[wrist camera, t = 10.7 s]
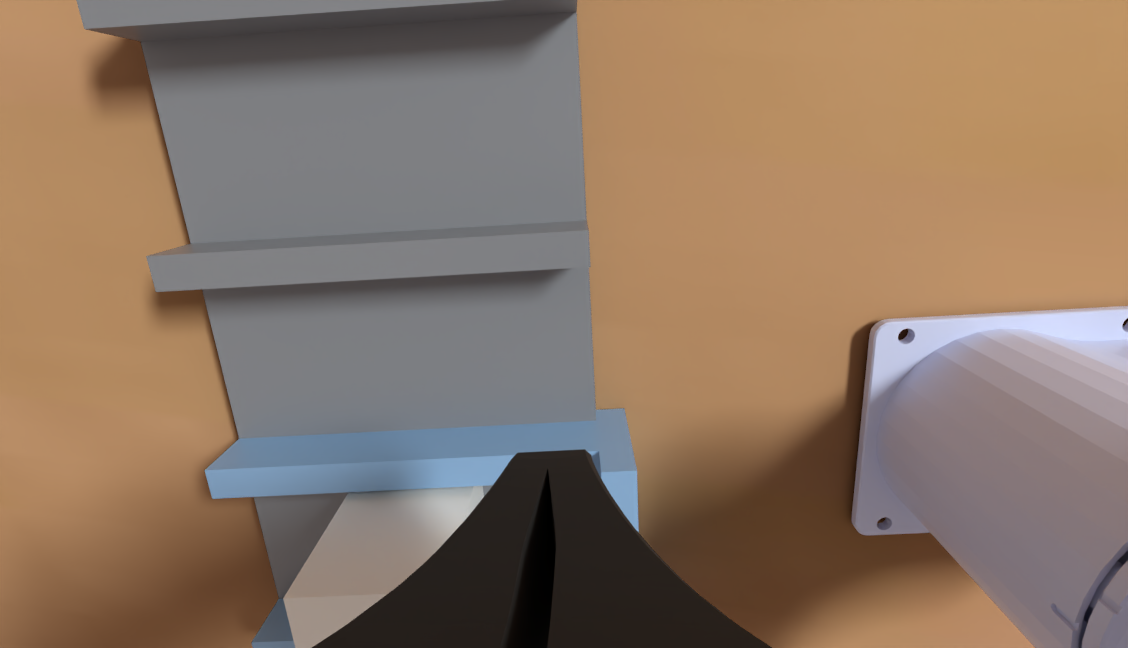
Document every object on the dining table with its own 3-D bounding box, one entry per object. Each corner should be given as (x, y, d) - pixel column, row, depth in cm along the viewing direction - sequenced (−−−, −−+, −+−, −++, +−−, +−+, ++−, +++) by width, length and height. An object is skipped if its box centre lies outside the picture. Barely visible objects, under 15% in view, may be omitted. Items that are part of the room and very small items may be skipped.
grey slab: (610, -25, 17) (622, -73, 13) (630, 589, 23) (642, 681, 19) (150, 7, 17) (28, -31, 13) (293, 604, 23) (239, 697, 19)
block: (480, 462, 20) (444, 591, 15) (491, 561, 21) (463, 715, 16) (363, 468, 20) (283, 598, 15) (380, 566, 22) (313, 721, 16)
